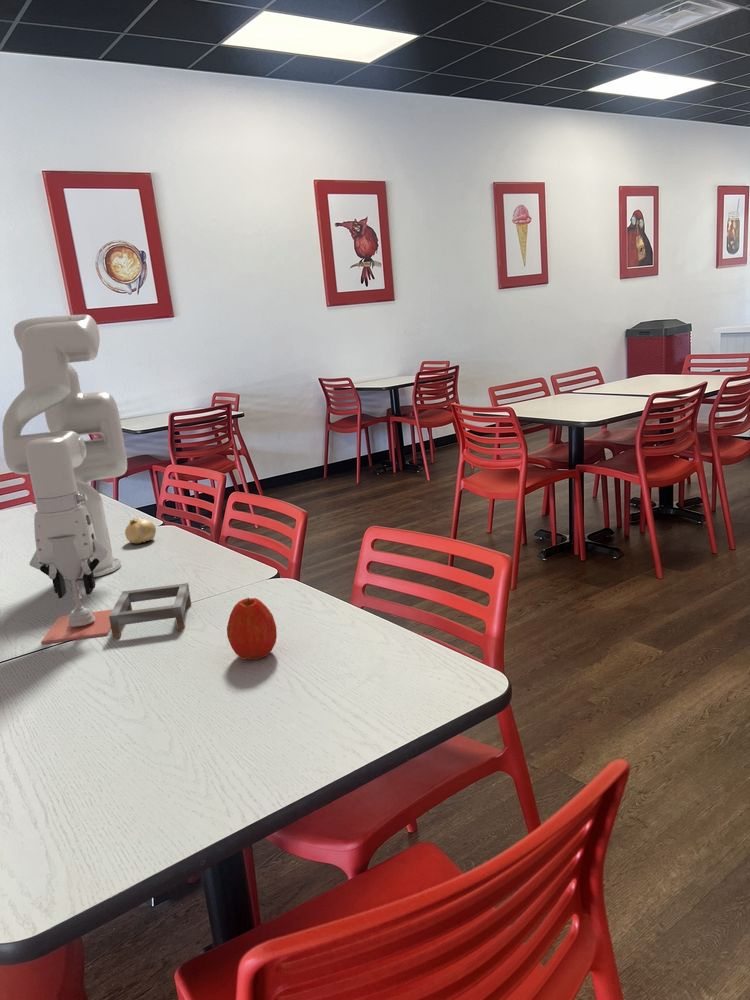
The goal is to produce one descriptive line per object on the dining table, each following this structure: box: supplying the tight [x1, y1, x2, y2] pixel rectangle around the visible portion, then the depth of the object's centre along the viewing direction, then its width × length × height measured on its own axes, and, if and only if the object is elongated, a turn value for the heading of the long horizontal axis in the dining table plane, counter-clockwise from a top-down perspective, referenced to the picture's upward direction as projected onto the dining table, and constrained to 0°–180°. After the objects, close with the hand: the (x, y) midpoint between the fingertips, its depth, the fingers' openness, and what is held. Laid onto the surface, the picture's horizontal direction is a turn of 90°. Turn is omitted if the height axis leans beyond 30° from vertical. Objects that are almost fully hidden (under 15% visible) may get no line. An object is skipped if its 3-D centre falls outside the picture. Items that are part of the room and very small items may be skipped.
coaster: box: [40, 608, 113, 645], centre depth 139 cm, size 12×12×1 cm
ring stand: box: [109, 582, 192, 640], centre depth 139 cm, size 13×13×5 cm
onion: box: [124, 517, 157, 544], centre depth 194 cm, size 8×8×7 cm
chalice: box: [48, 535, 95, 626], centre depth 137 cm, size 7×7×18 cm
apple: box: [226, 597, 277, 660], centre depth 119 cm, size 8×8×11 cm
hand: (76, 593), depth 138 cm, fingers closed on chalice, 4 cm apart
